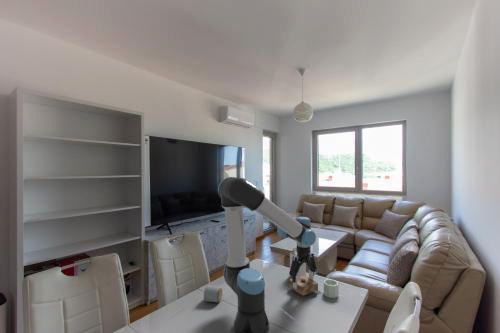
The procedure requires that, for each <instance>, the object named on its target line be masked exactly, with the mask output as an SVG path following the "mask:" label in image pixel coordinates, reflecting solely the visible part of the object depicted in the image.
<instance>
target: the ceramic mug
mask: <svg viewBox="0 0 500 333" xmlns="http://www.w3.org/2000/svg"><path fill="white" fill-rule="evenodd" d="M222 298H223V288H222V287H220V286H217V285H216V286H215V285H211V284H207V285H206V286H205V288H204V292H203V301H204V302H208V303H220V302H221V300H222Z"/></svg>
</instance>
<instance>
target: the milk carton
mask: <svg viewBox="0 0 500 333" xmlns="http://www.w3.org/2000/svg"><path fill="white" fill-rule="evenodd" d="M293 256H294V257H296V256H297V246H296V247H293V248H292V250H291V251H290V252H289V269H290V268H291V264H292V258H293ZM299 263H300V262H299ZM294 274H295V273H294ZM303 275H304V276H306V277H307V263H303V264H302V265H301V266H300V269H299V271H298V273H297V277H300V276H303ZM289 276H290V277H291V278H292V276H291V275H289Z"/></svg>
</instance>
